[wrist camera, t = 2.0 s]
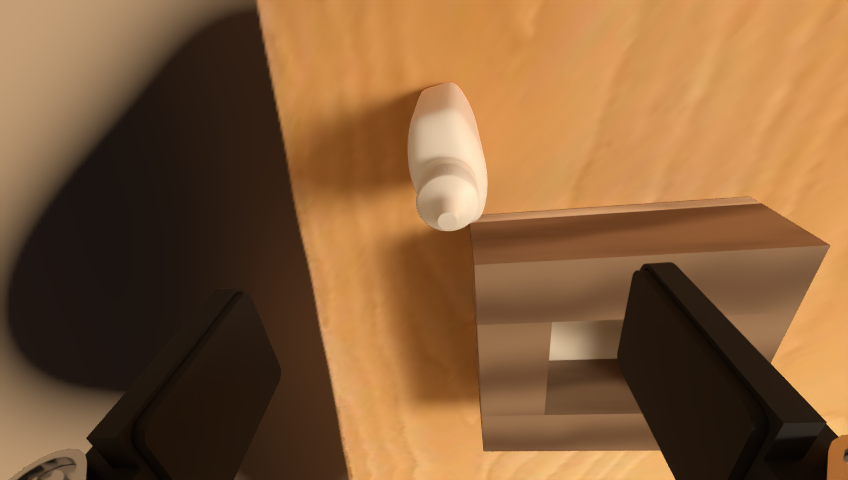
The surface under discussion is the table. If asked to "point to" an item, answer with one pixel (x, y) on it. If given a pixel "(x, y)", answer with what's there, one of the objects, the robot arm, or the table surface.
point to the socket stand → (613, 307)
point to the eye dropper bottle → (446, 159)
